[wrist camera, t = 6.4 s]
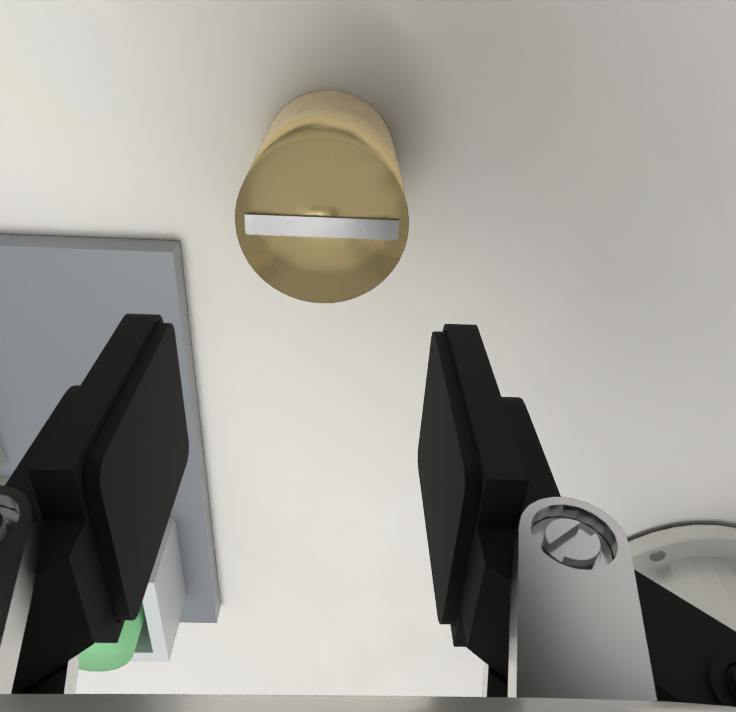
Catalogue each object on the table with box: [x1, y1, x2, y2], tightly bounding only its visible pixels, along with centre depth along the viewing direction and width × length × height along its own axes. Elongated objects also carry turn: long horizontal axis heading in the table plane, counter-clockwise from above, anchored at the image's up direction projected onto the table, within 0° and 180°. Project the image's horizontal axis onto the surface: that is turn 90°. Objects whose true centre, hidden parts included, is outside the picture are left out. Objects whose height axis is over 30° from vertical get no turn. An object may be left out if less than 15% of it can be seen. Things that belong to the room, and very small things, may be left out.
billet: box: [235, 90, 409, 303], centre depth 21 cm, size 5×5×7 cm
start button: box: [78, 602, 145, 671], centre depth 32 cm, size 4×4×4 cm
